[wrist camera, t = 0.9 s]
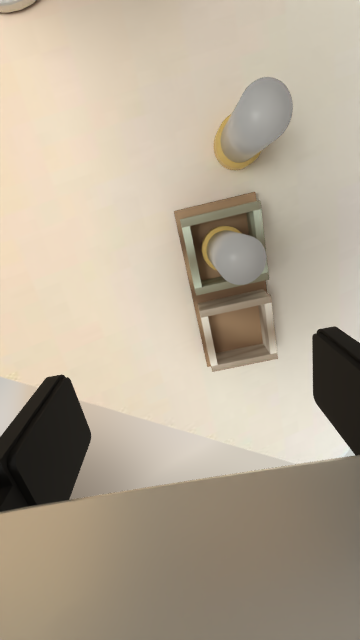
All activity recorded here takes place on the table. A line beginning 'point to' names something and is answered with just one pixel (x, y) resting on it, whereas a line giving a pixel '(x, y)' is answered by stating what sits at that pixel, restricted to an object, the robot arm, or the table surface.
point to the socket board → (228, 287)
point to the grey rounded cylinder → (253, 123)
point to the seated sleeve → (233, 254)
